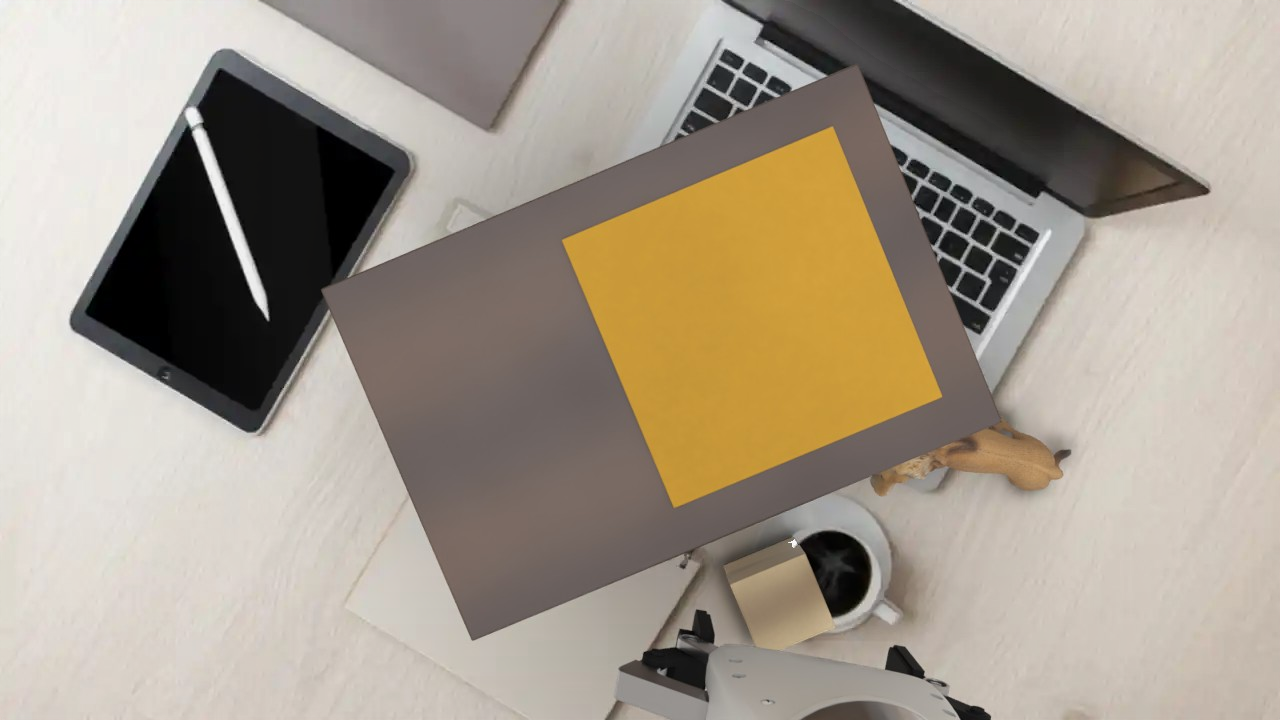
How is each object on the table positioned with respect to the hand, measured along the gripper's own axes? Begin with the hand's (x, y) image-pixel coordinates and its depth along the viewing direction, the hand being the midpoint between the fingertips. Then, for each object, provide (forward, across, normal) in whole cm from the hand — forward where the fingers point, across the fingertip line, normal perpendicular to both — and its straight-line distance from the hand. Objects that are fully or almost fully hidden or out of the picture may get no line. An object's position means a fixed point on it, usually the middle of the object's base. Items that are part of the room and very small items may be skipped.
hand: (793, 657), depth 53 cm
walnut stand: (+19, -9, +14) cm, 25 cm away
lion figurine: (+19, +11, +10) cm, 24 cm away
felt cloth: (-7, -6, +16) cm, 18 cm away
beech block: (+19, +2, -1) cm, 19 cm away
